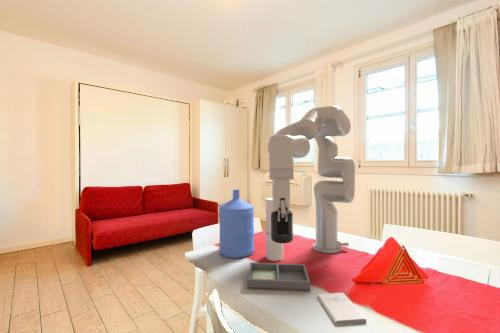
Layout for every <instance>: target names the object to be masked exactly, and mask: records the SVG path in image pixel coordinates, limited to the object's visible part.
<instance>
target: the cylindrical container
mask: <svg viewBox="0 0 500 333" xmlns="http://www.w3.org/2000/svg"><path fill="white" fill-rule="evenodd" d="M272 211H273V197H266V198H265V229H266V230H265V245H266V246H265V247H266V249H265V250H266V251H265V253H266V254H265V256H266V257H265V258H266V259H267V260H269V261H272V262H278V260H280V261H283V259H284V243H276V242H274V241H272V239H271V213H272Z"/></svg>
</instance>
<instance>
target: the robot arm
mask: <svg viewBox="0 0 500 333" xmlns="http://www.w3.org/2000/svg"><path fill="white" fill-rule="evenodd" d="M351 124H352V123H351V121H350V118H349V116H348V115H347V114H346V113H345V111H344V109H342V108H341V107H340V106H339V105H333V104H332V105H326V106H320V107H319V106H317V107H313V108H311V109H309V110H308V111H307V112H306V113H305V114H304V115H303V116H302V118H300V119H299V120H298V121H296V122H294V123H291V124H289V125H287V126H285V127H283V128H280V129H278V131H277V132H275V133H274V134H273V135H271V136H270V137H269V140H268V144H267V151H268V154H269V155H268V156H269V157H268V159H269V160H268V162H269V163H268V164H269V172H268V173H269V180H271V181H272V188H271V189H272V192H271V193H272V198H273V211H274V212H275V211H278V221H277V234H279V235H287V234H288V221H287V212H289V210H290V208H291V207H290V206H291V205H290V204H291V203H290V202H291V180H294V176H295V175H294V159H301V158H304V157H306V156H308V154H309V153H310V151H311V144H310V141H311V140H312V139H314V140H315V142H316V144H317V147H318V157H317V158H318V161H317V172H318V174H319V177H323V178H327V179H328V178H330V179H331V178H333V179H341V181H340V180H339V181H338V180H319V181H317V182H315V184H314V186H313V195H314V200H315V242H314V243H313V244H312V249H313V250H314V251H316V252H319V253H323V254H337V253H339V252H341V250H342V248H341V247H349V245H350V244H349V242H348V241H344V240H343V239H342V240H339V239H338V209H337V207H336V206H335V204H334V203H342V204H350V203H352V202H354V199H355V192H356V191H355V190H356V189H355V187H356V166H355V161H354V159H353V158H351V157H349V156H338V154H339V153H338V149H339V147H338V144H337V143H336V141H335V140H334V139H333V138H334V137H344V136H347V135H348V134H350V131H351ZM332 137H333V138H332ZM280 203H281V204H280ZM289 207H290V208H289ZM287 208H288V209H287ZM279 210H281V211H279ZM285 210H286V211H285Z"/></svg>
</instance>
